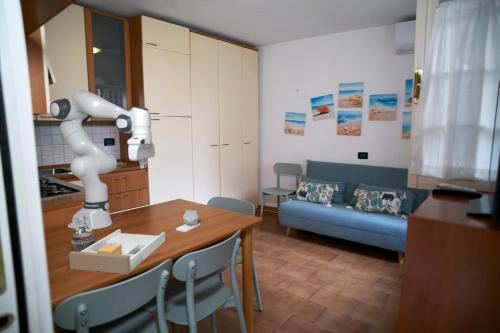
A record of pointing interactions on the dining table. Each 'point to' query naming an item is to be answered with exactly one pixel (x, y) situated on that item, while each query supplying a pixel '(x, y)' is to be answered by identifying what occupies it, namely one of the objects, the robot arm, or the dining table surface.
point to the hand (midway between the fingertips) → (143, 167)
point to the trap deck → (132, 255)
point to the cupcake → (82, 238)
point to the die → (191, 217)
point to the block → (111, 249)
